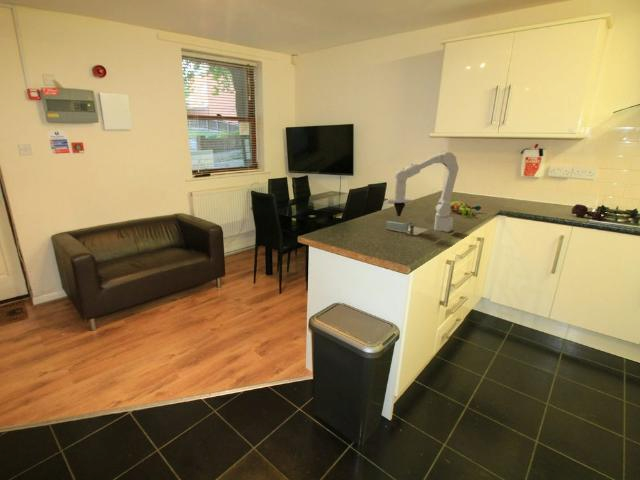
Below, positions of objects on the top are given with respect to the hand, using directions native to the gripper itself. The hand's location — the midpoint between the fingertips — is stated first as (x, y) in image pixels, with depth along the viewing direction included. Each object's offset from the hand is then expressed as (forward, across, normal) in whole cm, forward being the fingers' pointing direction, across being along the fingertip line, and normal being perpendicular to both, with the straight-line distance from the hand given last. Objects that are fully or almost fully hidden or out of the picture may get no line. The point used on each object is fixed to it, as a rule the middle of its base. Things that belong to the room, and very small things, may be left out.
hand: (398, 215), depth 193 cm
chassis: (+8, -5, +3) cm, 10 cm away
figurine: (+9, -136, -16) cm, 137 cm away
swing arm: (+7, 0, +6) cm, 9 cm away
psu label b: (+7, -4, +5) cm, 10 cm away
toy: (+9, -59, -40) cm, 72 cm away
